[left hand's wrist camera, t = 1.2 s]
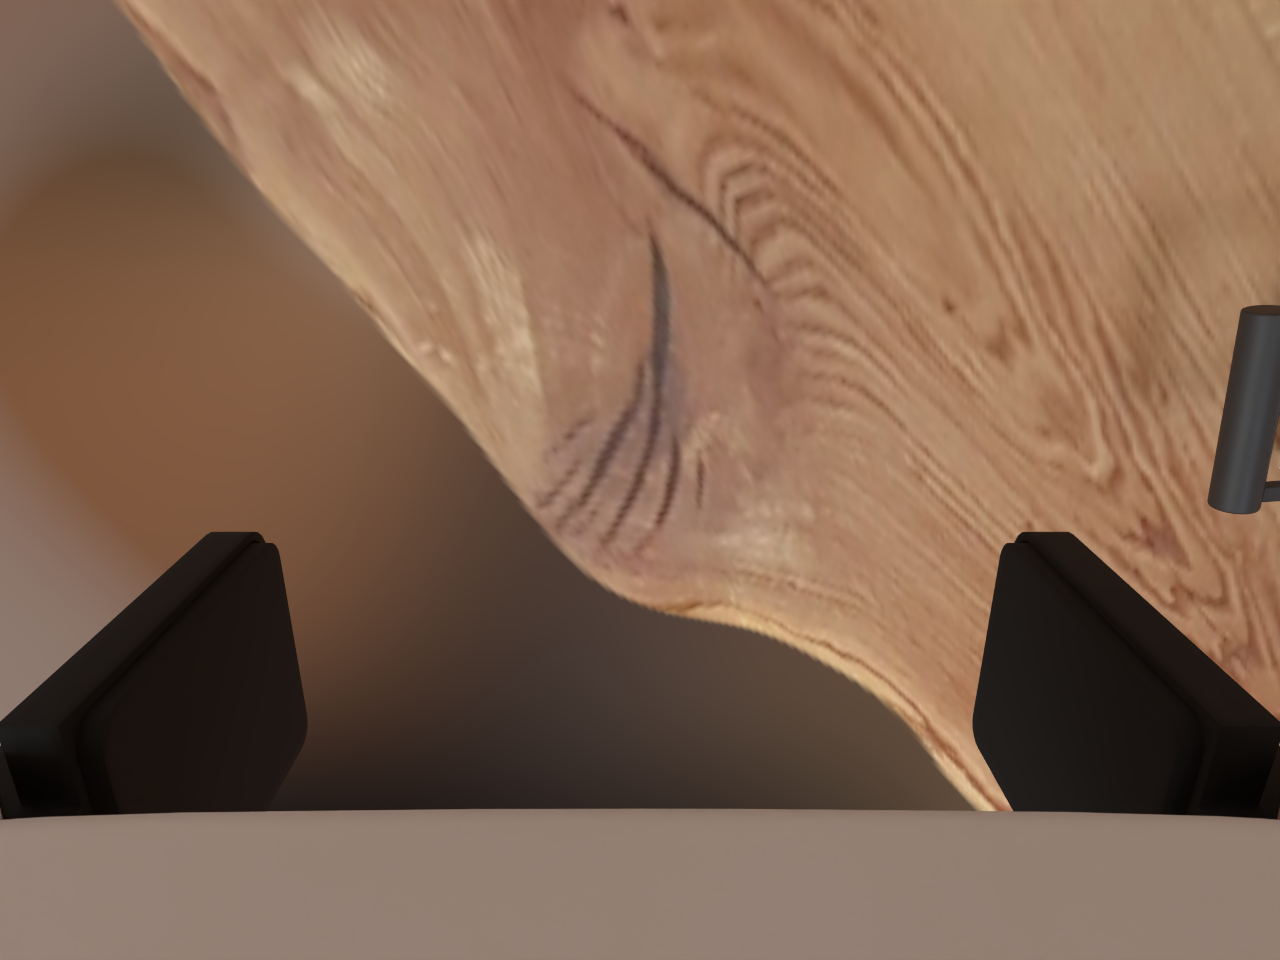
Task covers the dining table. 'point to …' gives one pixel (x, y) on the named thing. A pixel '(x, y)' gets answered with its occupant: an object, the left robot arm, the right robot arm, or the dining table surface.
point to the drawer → (1249, 416)
